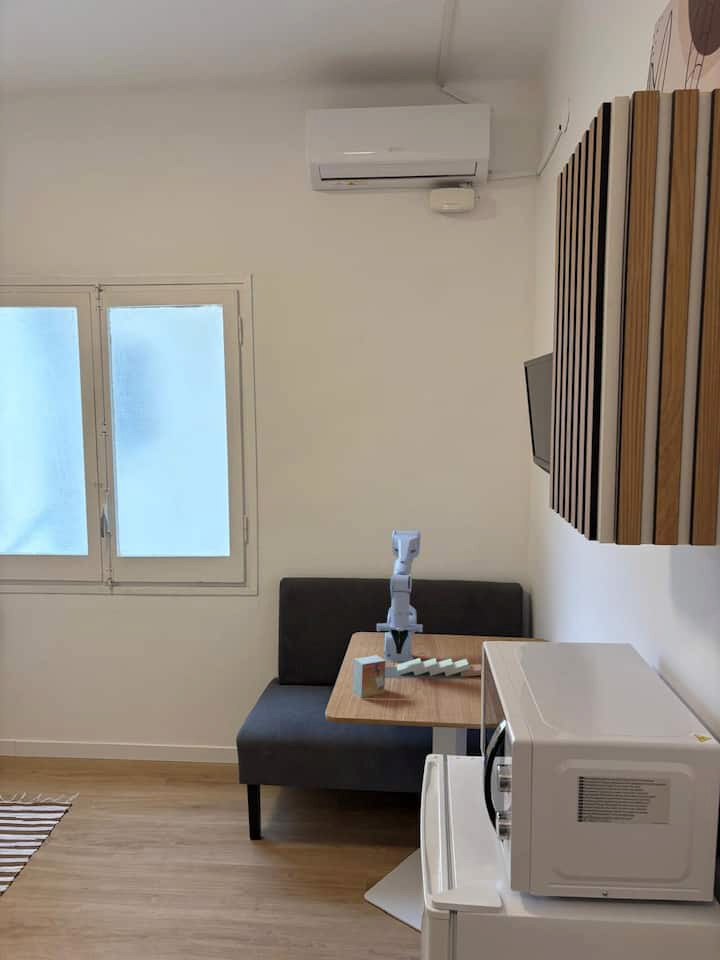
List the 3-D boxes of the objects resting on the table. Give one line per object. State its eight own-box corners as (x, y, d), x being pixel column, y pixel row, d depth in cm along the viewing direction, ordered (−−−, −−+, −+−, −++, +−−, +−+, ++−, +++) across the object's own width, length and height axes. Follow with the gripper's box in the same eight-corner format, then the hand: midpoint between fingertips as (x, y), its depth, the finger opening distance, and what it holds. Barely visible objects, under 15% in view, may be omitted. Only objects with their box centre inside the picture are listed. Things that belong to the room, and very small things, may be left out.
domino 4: (444, 671, 218) (468, 664, 217) (442, 665, 223) (465, 658, 222) (446, 676, 218) (470, 668, 218) (444, 670, 223) (467, 663, 223)
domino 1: (397, 670, 217) (421, 663, 217) (396, 664, 222) (419, 657, 222) (399, 675, 217) (423, 668, 217) (397, 669, 222) (421, 662, 222)
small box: (361, 699, 200) (362, 664, 199) (352, 692, 204) (353, 658, 203) (384, 694, 203) (386, 660, 202) (375, 687, 208) (376, 654, 207)
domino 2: (413, 671, 217) (437, 663, 217) (411, 665, 222) (435, 657, 222) (414, 675, 218) (438, 668, 217) (413, 669, 223) (436, 662, 222)
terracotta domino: (460, 671, 218) (485, 669, 218) (458, 666, 223) (482, 664, 223) (461, 676, 218) (486, 674, 218) (458, 670, 223) (482, 668, 223)
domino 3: (429, 671, 218) (453, 663, 217) (427, 665, 223) (450, 658, 222) (430, 675, 218) (454, 668, 218) (428, 670, 223) (452, 662, 223)
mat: (380, 678, 215) (380, 677, 215) (378, 668, 224) (378, 666, 224) (465, 680, 216) (465, 679, 216) (460, 669, 225) (460, 668, 225)
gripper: (378, 614, 214) (376, 656, 215) (424, 615, 214) (422, 657, 216) (377, 608, 221) (375, 649, 222) (421, 609, 221) (420, 649, 223)
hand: (398, 652), depth 219 cm, fingers closed
